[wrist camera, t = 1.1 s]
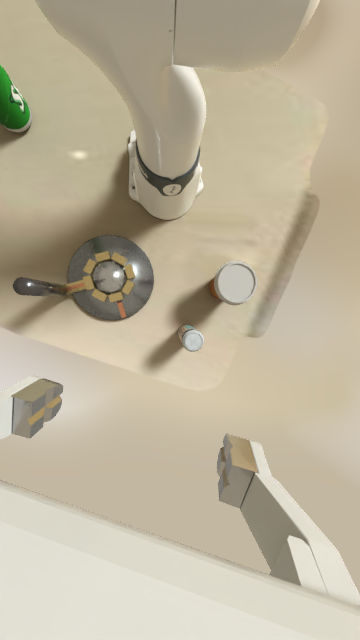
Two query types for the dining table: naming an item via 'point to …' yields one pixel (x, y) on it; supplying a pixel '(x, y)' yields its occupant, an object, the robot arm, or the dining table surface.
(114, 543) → the robot arm
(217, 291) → the disposable coffee cup
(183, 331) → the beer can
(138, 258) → the flange
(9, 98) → the soda can
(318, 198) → the dining table surface
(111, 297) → the tan handled ring
